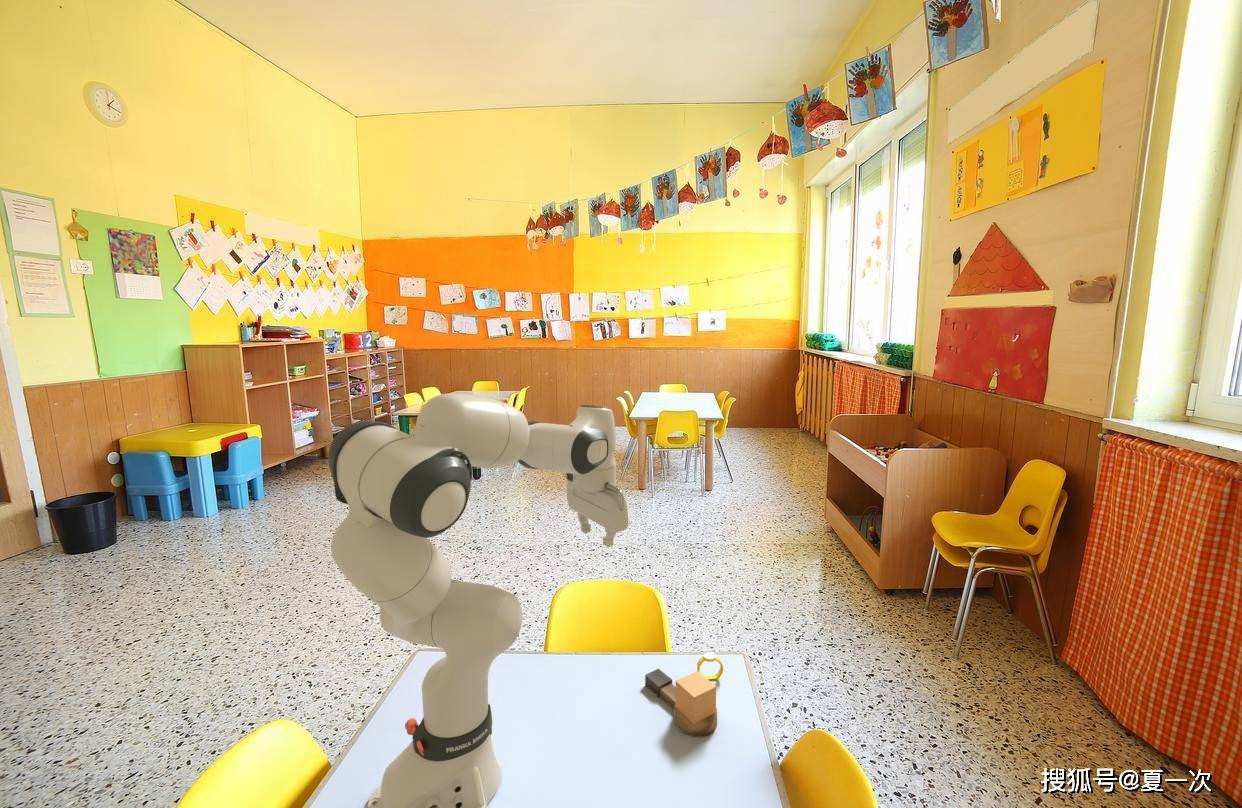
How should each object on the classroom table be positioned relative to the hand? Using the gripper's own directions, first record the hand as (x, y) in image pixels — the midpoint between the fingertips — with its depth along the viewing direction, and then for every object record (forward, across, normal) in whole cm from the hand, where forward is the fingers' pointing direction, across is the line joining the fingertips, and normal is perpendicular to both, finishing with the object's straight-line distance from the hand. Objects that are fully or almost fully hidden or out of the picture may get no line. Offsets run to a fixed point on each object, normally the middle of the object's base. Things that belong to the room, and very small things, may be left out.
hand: (596, 538), depth 115 cm
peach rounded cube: (+34, -20, -12) cm, 41 cm away
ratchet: (+36, -15, -12) cm, 41 cm away
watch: (+37, -12, -24) cm, 45 cm away
